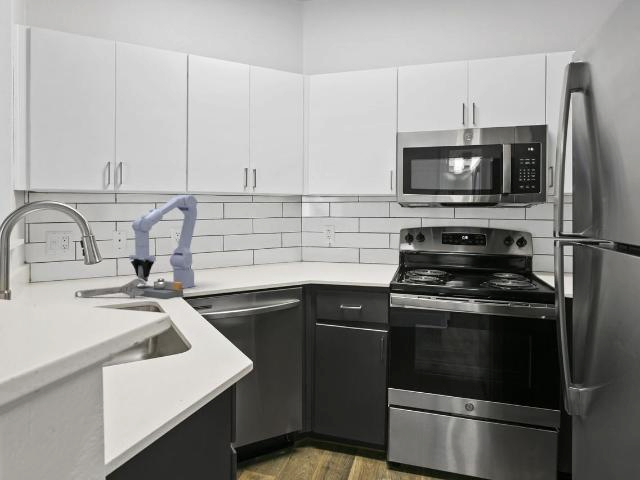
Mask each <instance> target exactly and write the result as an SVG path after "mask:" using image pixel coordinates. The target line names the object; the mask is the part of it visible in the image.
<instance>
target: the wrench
mask: <svg viewBox="0 0 640 480" xmlns="http://www.w3.org/2000/svg"><path fill="white" fill-rule="evenodd" d="M139 285H147V282H146V281H145V280H143V279H141V278H138V277H136V278H135V279H133V280H130V282H128V283H126V284H123V285H121V286H111V287H102V288H91V289H82V290H77V291H75V292H74V296H75V298H76V297H83V298H90V297H98V296H105V295H106V296H107V295H115V294H125V295H127V296H129V298H131V299H134V298H135V297H140V296H139V295H142V294H143V293H144V291H142V290H138V289H137V286H139ZM78 293H80V296H79V294H78Z"/></svg>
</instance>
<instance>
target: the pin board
mask: <svg viewBox="0 0 640 480" xmlns="http://www.w3.org/2000/svg"><path fill="white" fill-rule="evenodd" d="M137 289H138V290H142V291H144V293H143V294H142V295H139V296H138V297H140V296H141V297H144V298H145V297H146V298H155V299H162V300H168V299H173V298H177V297H181V296H184V289H182V290H180V291H177V290H171V289H154V285H147V284H146V285H143V284H141V285H137Z"/></svg>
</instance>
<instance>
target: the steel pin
mask: <svg viewBox="0 0 640 480" xmlns="http://www.w3.org/2000/svg"><path fill="white" fill-rule="evenodd" d="M137 278H141V279H143V280H145V281H146V283H147V282H149V277H144V275H143V267H142V265H138V277H137Z"/></svg>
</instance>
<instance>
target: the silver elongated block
mask: <svg viewBox="0 0 640 480" xmlns="http://www.w3.org/2000/svg"><path fill="white" fill-rule="evenodd" d="M153 286H154V289H171V290H177V291H180V290H183V289H182V282H173V281H169V280H165V278H157V280H155V281H153Z"/></svg>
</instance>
